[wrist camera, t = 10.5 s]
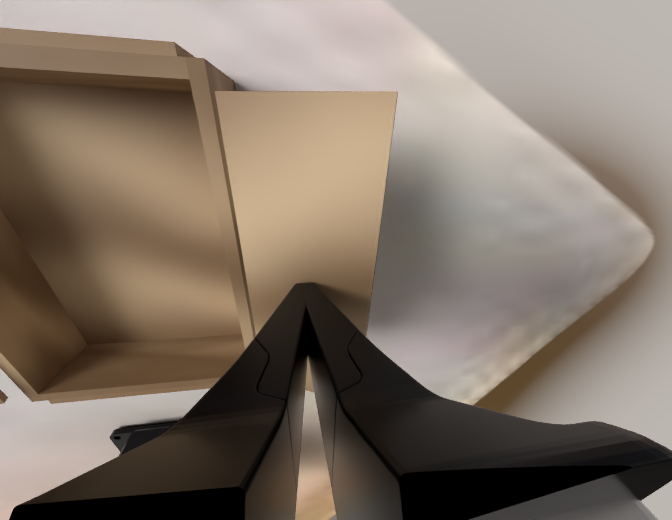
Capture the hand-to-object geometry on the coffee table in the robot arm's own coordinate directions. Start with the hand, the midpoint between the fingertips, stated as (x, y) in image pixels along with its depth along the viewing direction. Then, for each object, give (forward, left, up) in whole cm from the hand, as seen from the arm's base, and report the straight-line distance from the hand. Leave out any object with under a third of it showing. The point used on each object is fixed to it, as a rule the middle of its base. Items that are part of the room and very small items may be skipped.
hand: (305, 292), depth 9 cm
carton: (0, +8, -5) cm, 9 cm away
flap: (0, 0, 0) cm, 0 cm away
